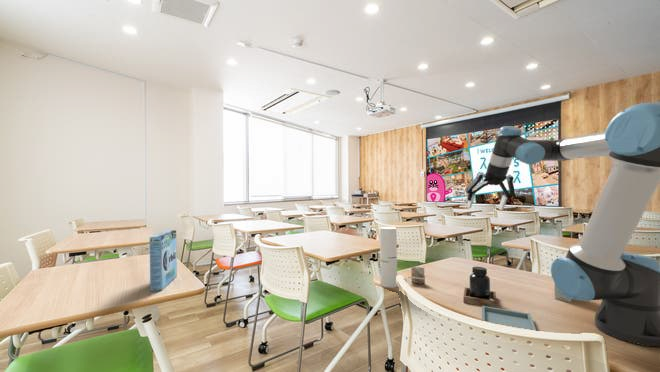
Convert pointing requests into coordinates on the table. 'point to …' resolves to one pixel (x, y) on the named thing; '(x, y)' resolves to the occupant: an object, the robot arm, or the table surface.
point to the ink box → (561, 295)
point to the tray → (507, 317)
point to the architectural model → (417, 275)
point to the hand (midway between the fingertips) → (484, 207)
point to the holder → (480, 301)
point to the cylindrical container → (388, 256)
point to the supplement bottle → (479, 283)
